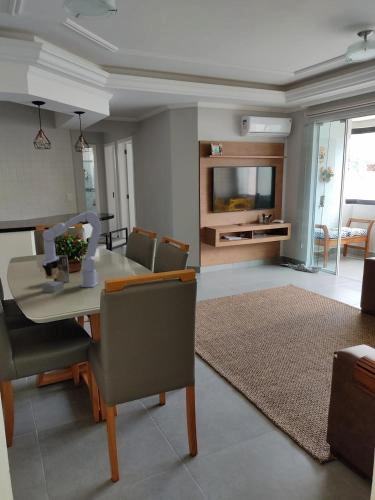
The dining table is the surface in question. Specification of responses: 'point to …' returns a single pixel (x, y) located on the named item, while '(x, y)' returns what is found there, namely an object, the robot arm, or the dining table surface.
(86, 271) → the robot arm
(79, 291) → the dining table surface
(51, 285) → the slate block
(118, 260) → the dining table surface
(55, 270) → the oak cube
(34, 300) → the dining table surface
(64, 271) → the coffee box
